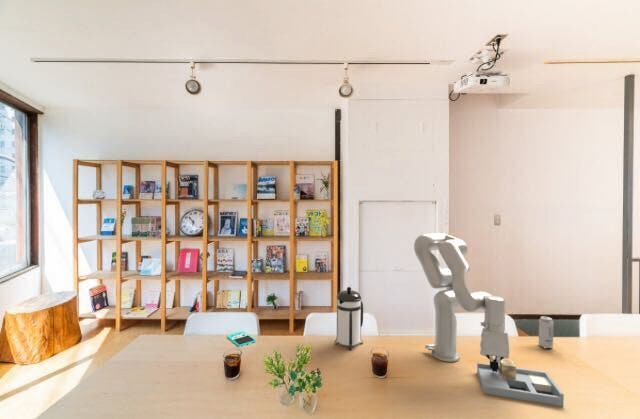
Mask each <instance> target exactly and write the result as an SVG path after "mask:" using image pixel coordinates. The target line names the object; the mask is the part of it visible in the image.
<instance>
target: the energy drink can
mask: <svg viewBox="0 0 640 419" xmlns="http://www.w3.org/2000/svg"><path fill="white" fill-rule="evenodd" d="M538 322H539V323H538V345H539V347H540V346H542V347H546V348H551V349H552V348H553V347H554V320H553V318H552V317H550V316H544V315H543V316H540V318H539V319H538ZM542 347H541V348H542Z"/></svg>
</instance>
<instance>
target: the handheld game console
mask: <svg viewBox="0 0 640 419" xmlns="http://www.w3.org/2000/svg"><path fill="white" fill-rule="evenodd" d="M227 339H228V340H230V341H231V342H232V343H234V344H235V345H236V346H239V347H238V348H241V347H243V346H242V345H245V346H247V345H250V344H249V343H251V344H253V343H252V342H254V343H256V342H257V340H256V339H255V338H253V337H252V336H250V335H249V334H247V333H246V332H245V331H239V332H235V333H231V334H229V335H228V336H227ZM246 344H247V345H246ZM240 346H241V347H240Z"/></svg>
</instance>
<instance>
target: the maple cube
mask: <svg viewBox="0 0 640 419" xmlns="http://www.w3.org/2000/svg"><path fill="white" fill-rule="evenodd" d="M516 368H517V366H516V364H515V361H513V360H507V359H502V360H501V361H500V362H499V372H500V374H501V376H502V377H506V378H512V379H516Z"/></svg>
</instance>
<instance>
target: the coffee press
mask: <svg viewBox="0 0 640 419" xmlns="http://www.w3.org/2000/svg"><path fill="white" fill-rule="evenodd" d="M336 299H337V301H336V302H337V303H336V338H335V340H334V342H333V344H334V345H335V346H337V345H338V344H340V345H343V346H347V347H348V350H349V351H353V346H356V345H358V344H360V345H363V344H364V341H363V339H362V333H361V331H362V327H363V322H364V304H363V302H362V296H361V294H360V293H359V292H358V291H356V290H352V288H351V286H347V288H346V290H341V291H339V292H338V293H337V295H336ZM336 342H337V343H336Z"/></svg>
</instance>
